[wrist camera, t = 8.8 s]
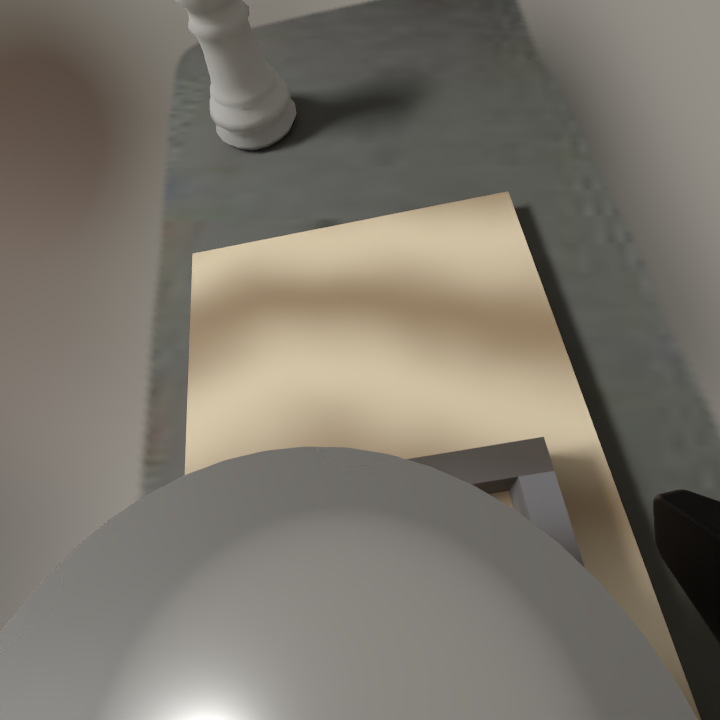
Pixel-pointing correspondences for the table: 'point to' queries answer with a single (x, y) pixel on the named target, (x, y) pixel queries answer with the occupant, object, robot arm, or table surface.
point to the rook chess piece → (239, 76)
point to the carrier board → (414, 373)
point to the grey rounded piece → (326, 607)
